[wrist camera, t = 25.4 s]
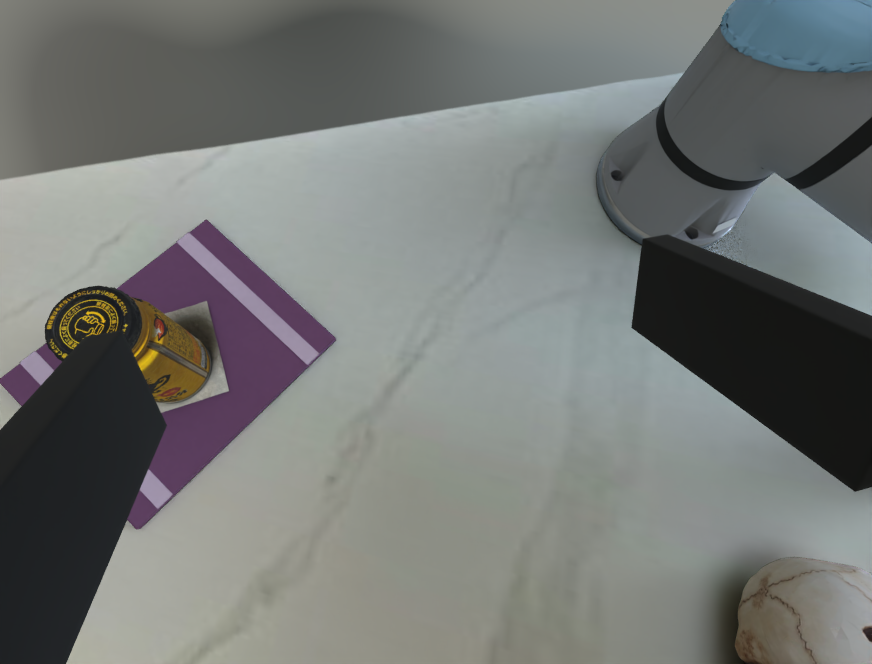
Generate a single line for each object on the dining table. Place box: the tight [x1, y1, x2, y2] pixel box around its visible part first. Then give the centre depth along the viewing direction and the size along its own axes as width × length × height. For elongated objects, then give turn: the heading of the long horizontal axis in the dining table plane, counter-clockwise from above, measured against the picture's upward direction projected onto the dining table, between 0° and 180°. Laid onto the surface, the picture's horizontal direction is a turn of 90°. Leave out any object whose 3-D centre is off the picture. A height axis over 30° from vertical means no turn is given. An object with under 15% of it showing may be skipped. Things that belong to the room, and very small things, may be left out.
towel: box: [0, 220, 336, 529], centre depth 40 cm, size 21×17×1 cm
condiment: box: [45, 286, 229, 413], centre depth 34 cm, size 7×8×12 cm
